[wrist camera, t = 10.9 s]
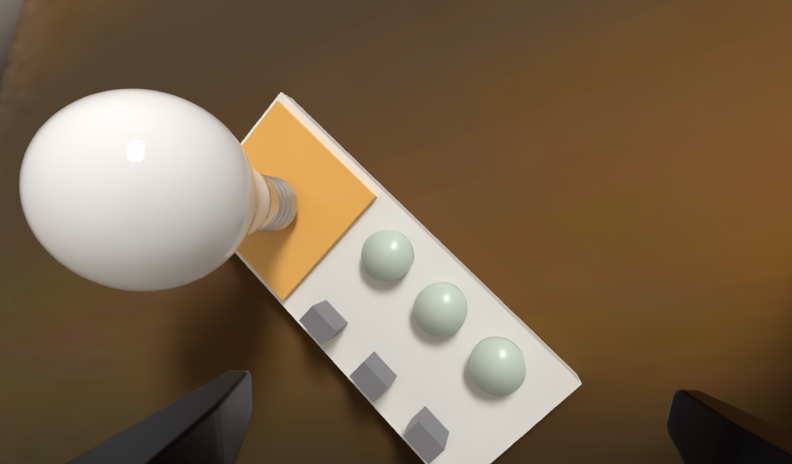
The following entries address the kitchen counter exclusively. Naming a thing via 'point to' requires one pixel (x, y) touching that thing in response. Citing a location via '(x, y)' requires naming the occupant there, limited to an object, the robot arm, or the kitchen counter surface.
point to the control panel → (396, 303)
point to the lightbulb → (144, 190)
